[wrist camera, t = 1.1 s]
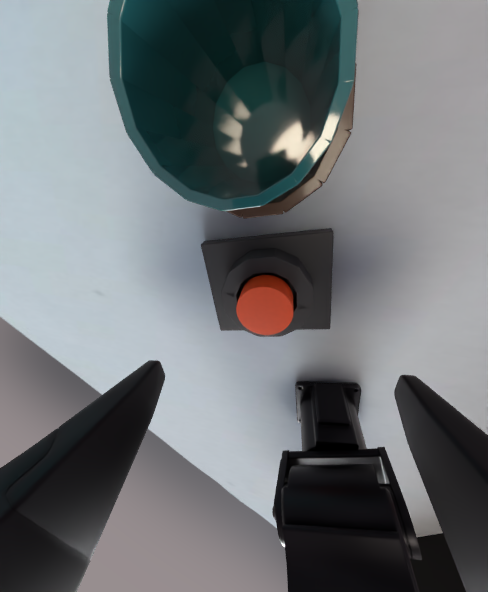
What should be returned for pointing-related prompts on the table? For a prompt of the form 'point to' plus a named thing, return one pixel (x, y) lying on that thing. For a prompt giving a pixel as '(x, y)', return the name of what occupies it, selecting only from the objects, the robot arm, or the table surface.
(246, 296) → the release button
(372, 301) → the table surface
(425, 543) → the matte black box
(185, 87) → the cup
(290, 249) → the button housing
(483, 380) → the table surface
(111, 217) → the table surface
